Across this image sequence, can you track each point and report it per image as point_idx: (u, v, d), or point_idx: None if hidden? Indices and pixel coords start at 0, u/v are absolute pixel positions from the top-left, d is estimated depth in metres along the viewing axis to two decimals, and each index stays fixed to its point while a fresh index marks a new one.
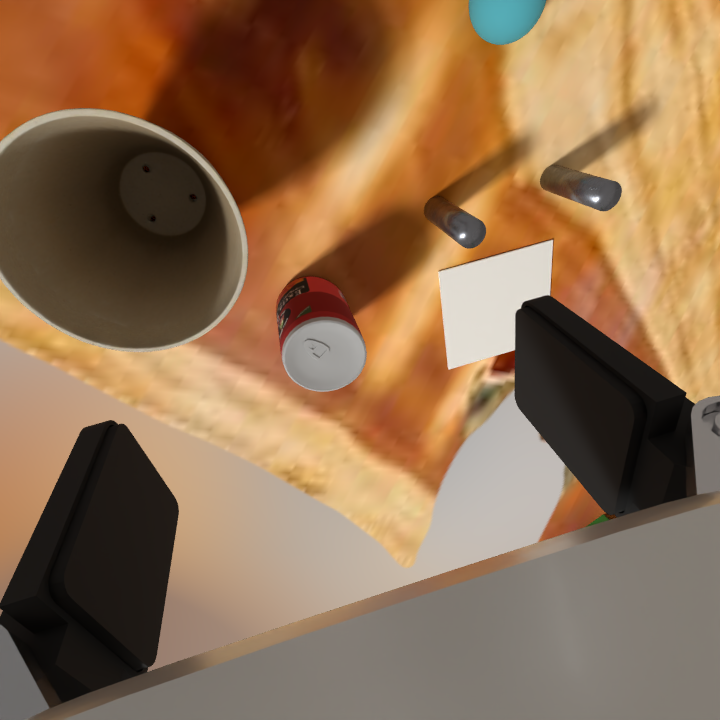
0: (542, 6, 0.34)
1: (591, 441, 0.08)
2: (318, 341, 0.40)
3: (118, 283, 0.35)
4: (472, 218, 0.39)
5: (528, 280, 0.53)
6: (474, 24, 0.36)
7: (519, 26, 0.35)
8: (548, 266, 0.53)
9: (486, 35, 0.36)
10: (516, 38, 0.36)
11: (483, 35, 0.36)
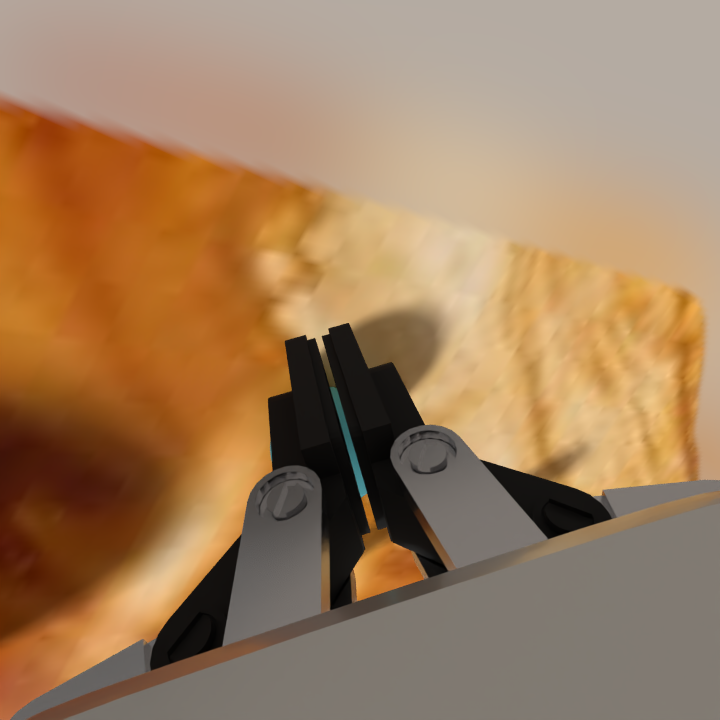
0: None
1: (358, 462, 0.09)
2: None
3: None
4: None
5: None
6: None
7: None
8: None
9: None
10: None
11: None
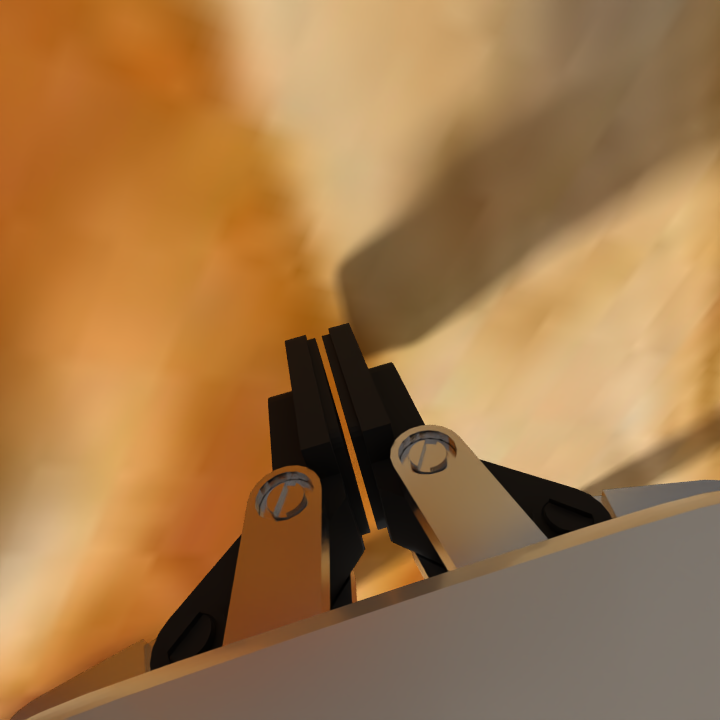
0: None
1: (358, 462, 0.09)
2: None
3: None
4: None
5: None
6: None
7: None
8: None
9: None
10: None
11: None
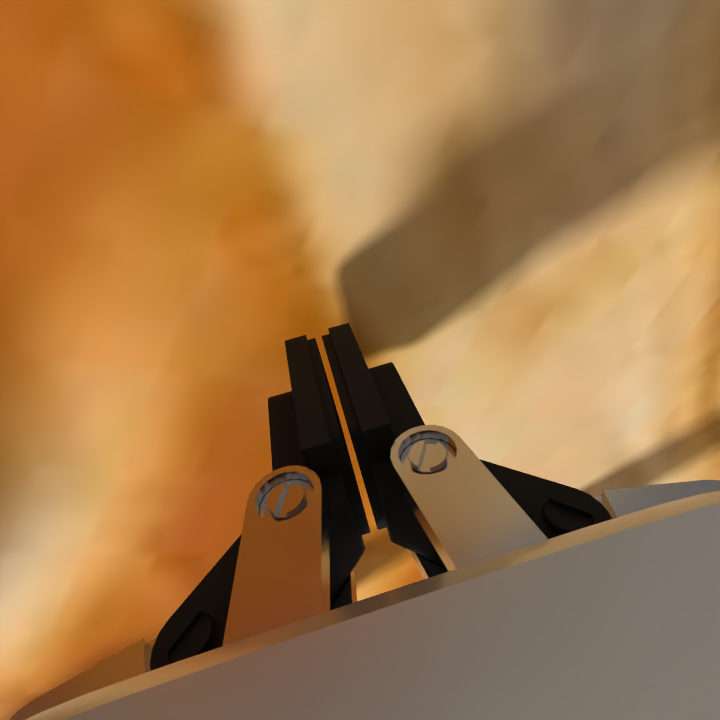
0: None
1: (358, 462, 0.09)
2: None
3: None
4: None
5: None
6: None
7: None
8: None
9: None
10: None
11: None
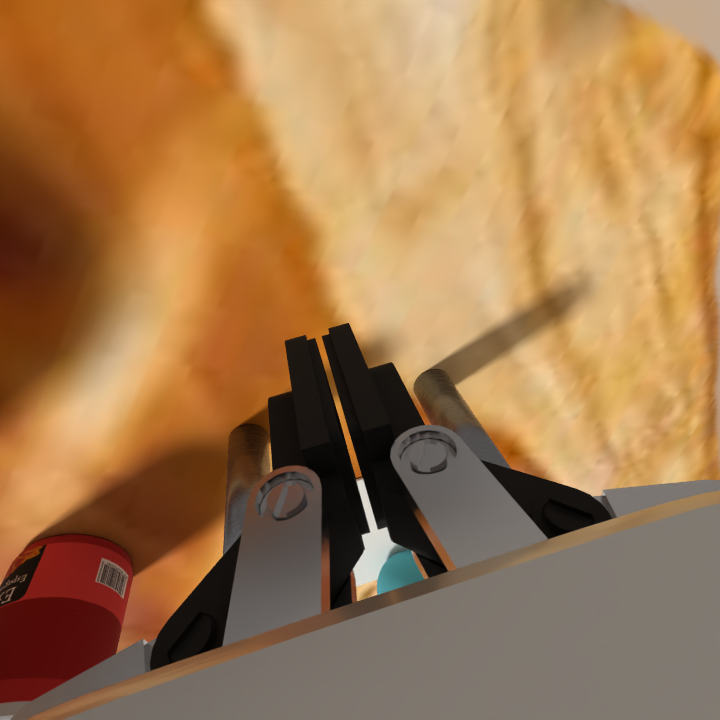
0: None
1: (358, 462, 0.09)
2: None
3: None
4: None
5: None
6: None
7: None
8: None
9: None
10: None
11: None
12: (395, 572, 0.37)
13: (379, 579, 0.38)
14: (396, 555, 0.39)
